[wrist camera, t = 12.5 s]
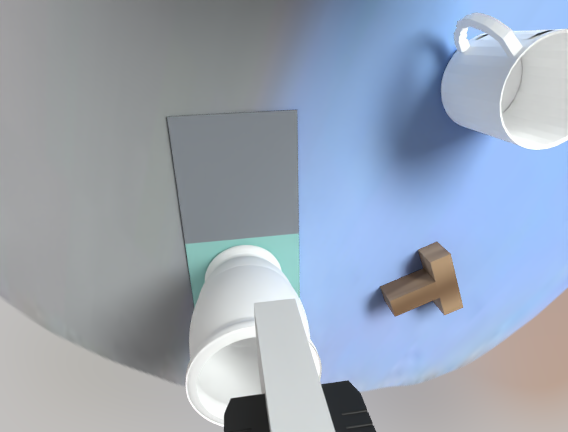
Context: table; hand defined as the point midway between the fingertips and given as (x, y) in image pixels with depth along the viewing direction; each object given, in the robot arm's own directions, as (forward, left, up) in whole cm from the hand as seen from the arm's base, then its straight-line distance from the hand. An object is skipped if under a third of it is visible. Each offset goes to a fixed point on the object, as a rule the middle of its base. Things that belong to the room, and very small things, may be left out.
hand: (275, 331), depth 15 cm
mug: (-7, +24, -27) cm, 36 cm away
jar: (+14, -1, -26) cm, 30 cm away
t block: (+17, +20, -26) cm, 37 cm away
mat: (+9, 0, -26) cm, 28 cm away
